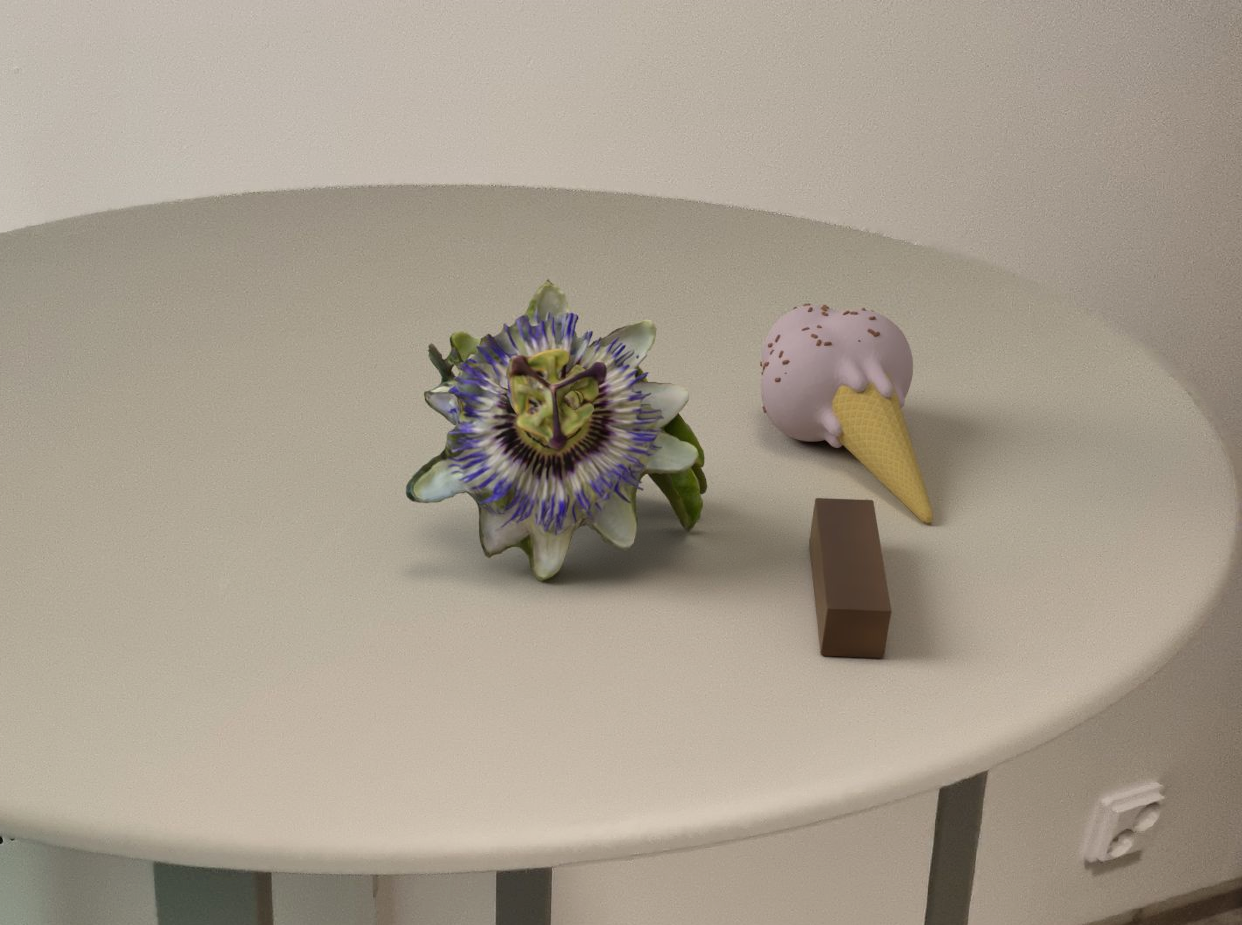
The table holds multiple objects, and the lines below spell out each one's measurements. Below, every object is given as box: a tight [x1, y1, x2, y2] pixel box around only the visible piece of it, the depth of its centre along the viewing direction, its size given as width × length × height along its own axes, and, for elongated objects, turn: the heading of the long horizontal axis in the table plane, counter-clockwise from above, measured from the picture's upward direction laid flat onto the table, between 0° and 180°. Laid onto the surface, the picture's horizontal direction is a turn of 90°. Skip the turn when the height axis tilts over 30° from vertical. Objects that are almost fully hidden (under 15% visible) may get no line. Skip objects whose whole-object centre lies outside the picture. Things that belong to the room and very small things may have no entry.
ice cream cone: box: [759, 302, 934, 524], centre depth 86 cm, size 6×7×15 cm
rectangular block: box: [808, 497, 892, 659], centre depth 76 cm, size 2×10×2 cm, turn 173°
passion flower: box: [405, 278, 708, 582], centre depth 79 cm, size 11×11×12 cm
